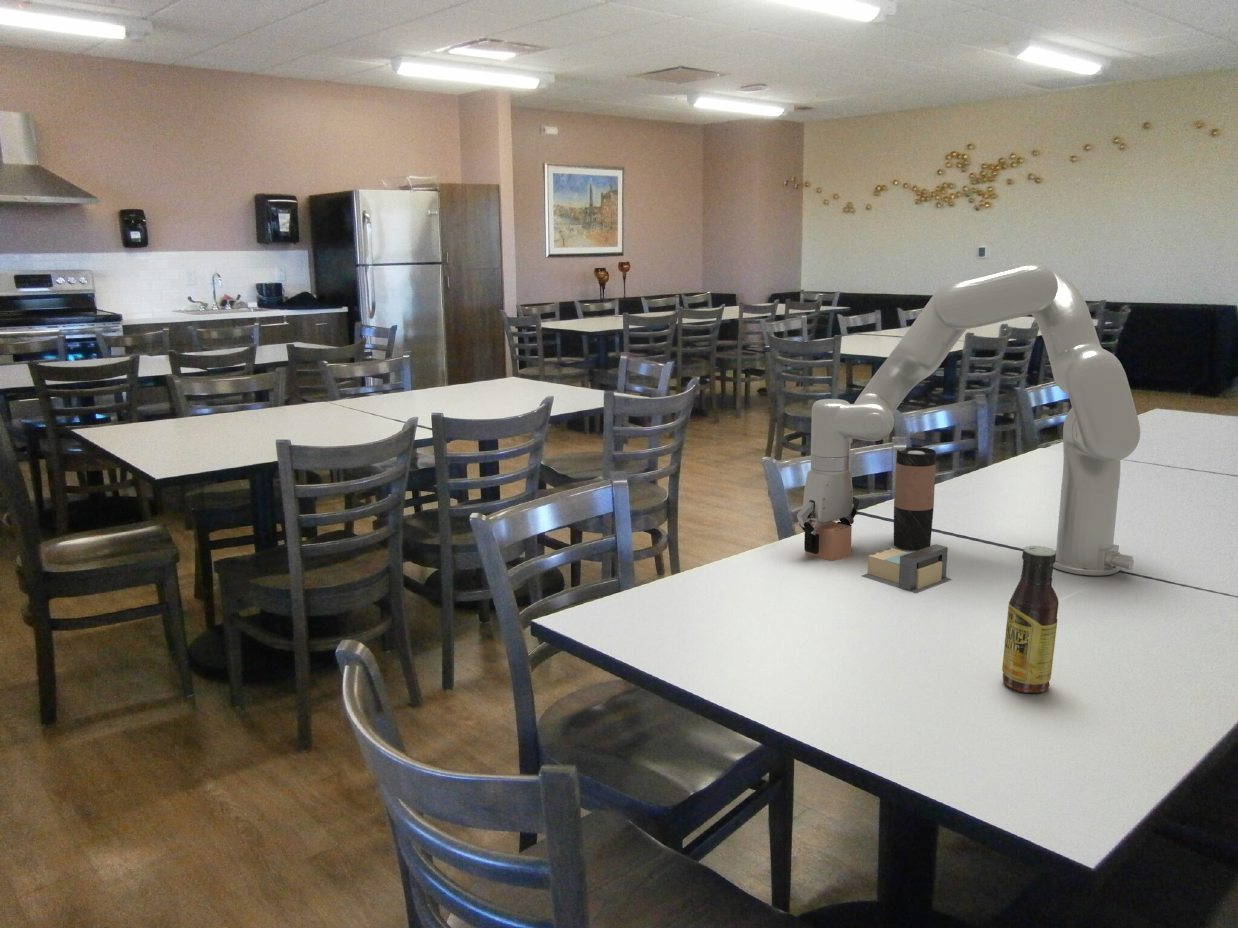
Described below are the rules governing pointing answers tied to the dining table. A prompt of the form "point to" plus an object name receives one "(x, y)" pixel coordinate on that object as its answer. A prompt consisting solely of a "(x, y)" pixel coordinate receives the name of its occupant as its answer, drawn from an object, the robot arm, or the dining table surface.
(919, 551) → the grey rectangular collar
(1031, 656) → the sauce bottle
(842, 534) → the stub
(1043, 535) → the dining table surface
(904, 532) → the travel mug
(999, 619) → the dining table surface
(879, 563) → the tan and teal block
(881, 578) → the mat
